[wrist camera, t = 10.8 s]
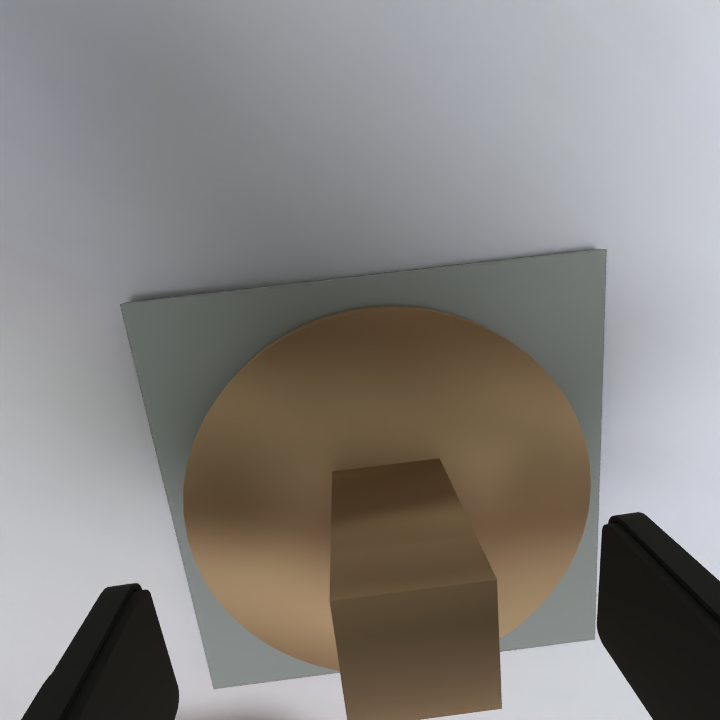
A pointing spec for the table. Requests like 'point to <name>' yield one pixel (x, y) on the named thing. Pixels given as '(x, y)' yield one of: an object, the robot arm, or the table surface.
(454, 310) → the mat
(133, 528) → the table surface
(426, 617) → the lid
